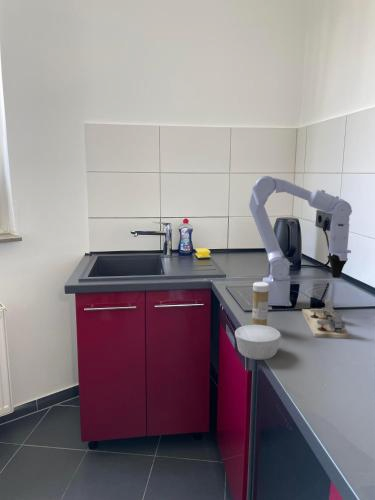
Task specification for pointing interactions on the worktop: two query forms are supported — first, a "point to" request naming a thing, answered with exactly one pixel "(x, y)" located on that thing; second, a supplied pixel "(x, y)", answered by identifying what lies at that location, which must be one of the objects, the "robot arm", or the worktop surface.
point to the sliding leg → (325, 309)
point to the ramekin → (257, 341)
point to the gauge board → (326, 330)
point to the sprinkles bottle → (260, 303)
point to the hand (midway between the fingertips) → (335, 277)
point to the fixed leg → (334, 321)
